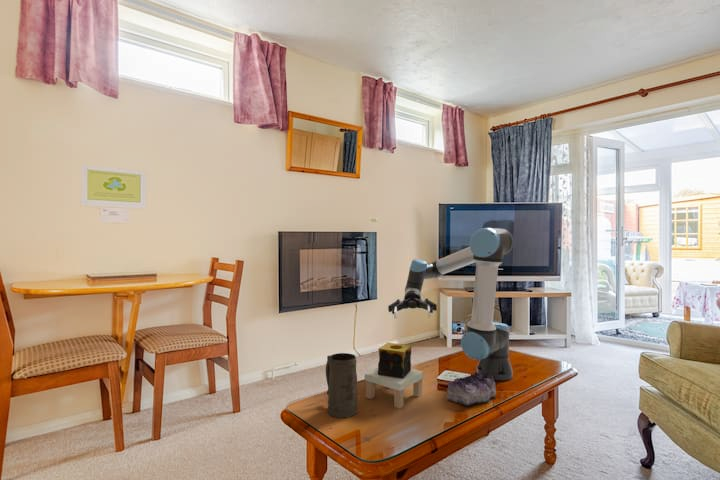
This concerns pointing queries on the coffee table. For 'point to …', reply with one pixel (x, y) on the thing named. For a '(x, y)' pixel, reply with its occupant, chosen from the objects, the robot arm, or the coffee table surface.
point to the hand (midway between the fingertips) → (412, 314)
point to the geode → (472, 389)
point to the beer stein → (341, 385)
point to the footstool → (394, 384)
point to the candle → (394, 360)
